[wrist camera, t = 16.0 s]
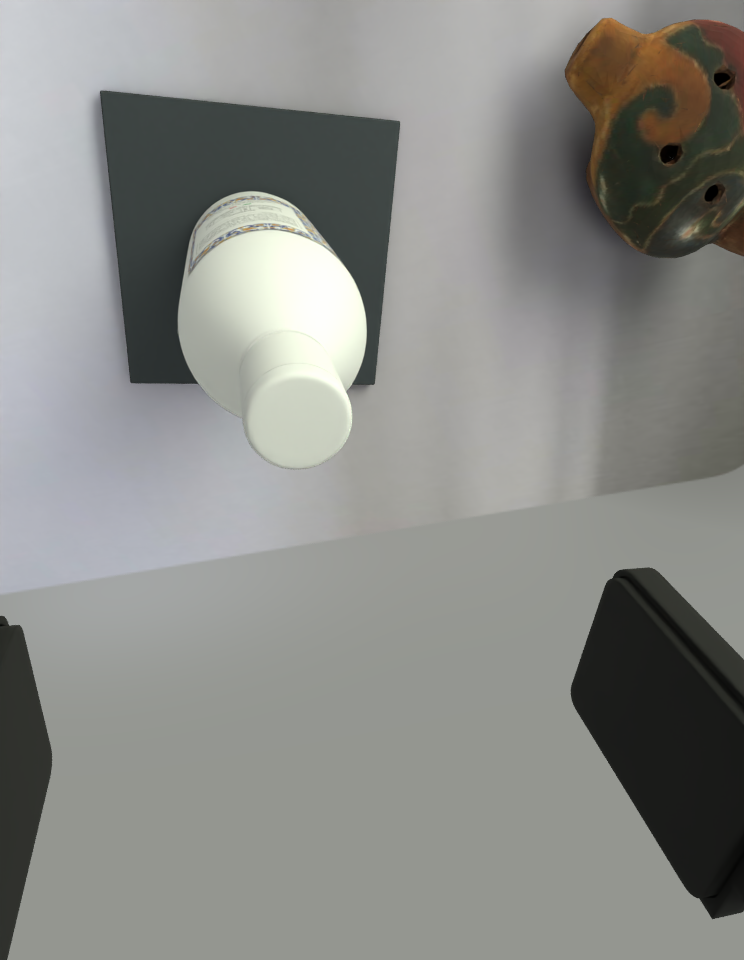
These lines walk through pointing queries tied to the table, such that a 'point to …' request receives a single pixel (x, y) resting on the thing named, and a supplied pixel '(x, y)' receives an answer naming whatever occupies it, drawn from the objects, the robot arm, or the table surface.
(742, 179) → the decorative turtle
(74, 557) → the table surface
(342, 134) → the mat
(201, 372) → the bath foam
